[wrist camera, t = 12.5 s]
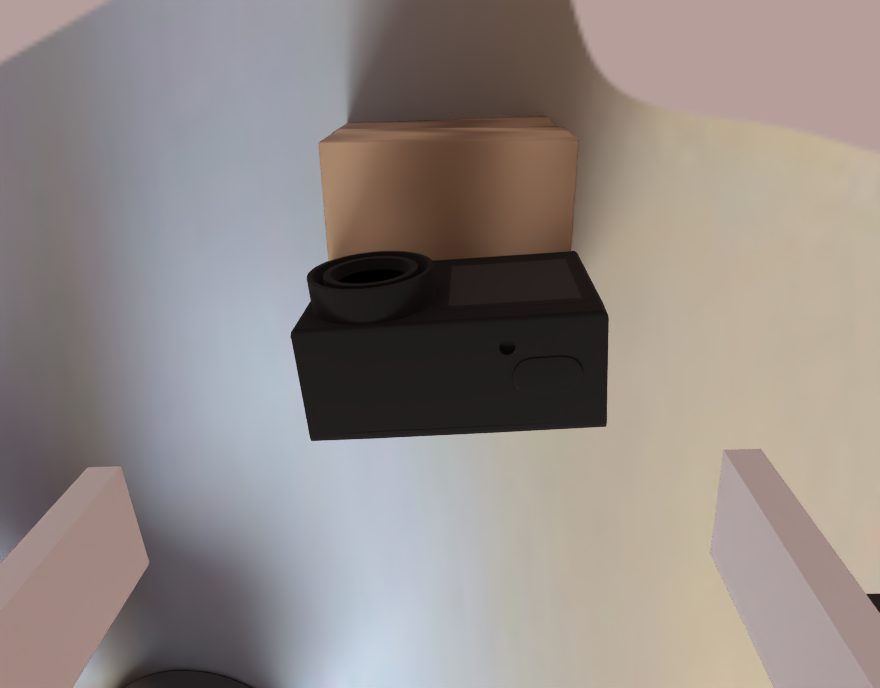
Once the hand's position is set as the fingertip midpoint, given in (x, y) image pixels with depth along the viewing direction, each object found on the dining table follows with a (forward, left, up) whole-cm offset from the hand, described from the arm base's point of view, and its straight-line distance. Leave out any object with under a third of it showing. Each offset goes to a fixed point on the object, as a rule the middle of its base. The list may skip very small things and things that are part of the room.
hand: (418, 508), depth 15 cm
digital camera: (+1, 0, -15) cm, 15 cm away
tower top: (0, 0, -19) cm, 19 cm away
